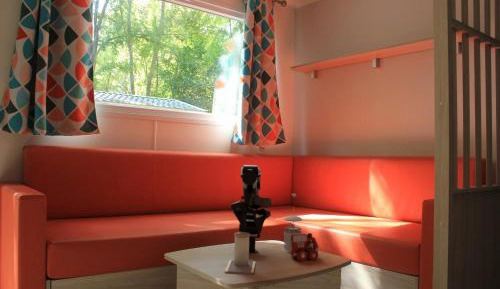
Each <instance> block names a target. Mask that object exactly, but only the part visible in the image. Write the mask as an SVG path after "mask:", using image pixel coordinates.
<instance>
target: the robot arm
mask: <svg viewBox="0 0 500 289" xmlns="http://www.w3.org/2000/svg"><path fill="white" fill-rule="evenodd" d="M261 176H262V171H261V169H260V168H259V165H254V164H250V165H249V164H244V165H243V166H242V167H241V170H240V178H241V181H242V195H243V196H240V197H241V200H238V201H236V202H233V203H231V205H230V211H231V212H232V214H234V216H235V218H236V220H237V221H238V222H239V224H238V225H239V226H238V232H247V233H250V236H249V254H251V253H252V254H253V253H259V250H257V249H256V239H260V238H261V234H262V229H263V226H264V223H265V221H266V219H269V218H270V217H271V216H272V215H271V211H270V210H269V209H267V208H269V207H271V206H272V199H271V198H270V197H261V196H260V194H259V192H260V191H261ZM242 200H243V201H242ZM262 207H263V208H262Z"/></svg>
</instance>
